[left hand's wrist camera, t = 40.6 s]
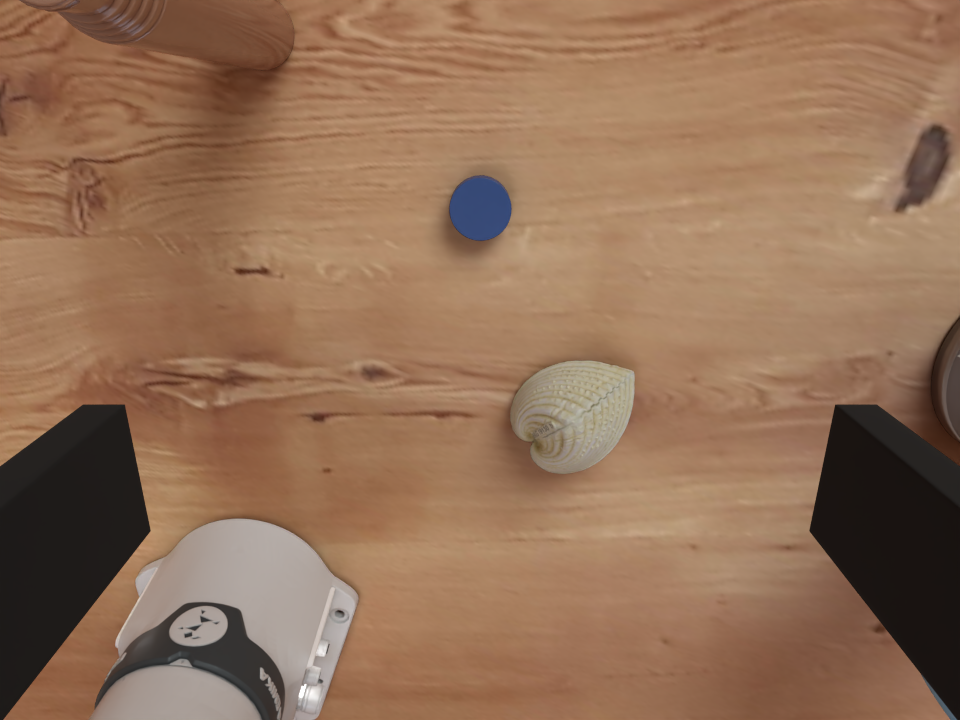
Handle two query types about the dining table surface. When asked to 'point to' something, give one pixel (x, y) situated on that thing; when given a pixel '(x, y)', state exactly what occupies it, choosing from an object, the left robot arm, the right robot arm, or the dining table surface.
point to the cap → (480, 208)
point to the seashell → (573, 413)
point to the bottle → (186, 27)
